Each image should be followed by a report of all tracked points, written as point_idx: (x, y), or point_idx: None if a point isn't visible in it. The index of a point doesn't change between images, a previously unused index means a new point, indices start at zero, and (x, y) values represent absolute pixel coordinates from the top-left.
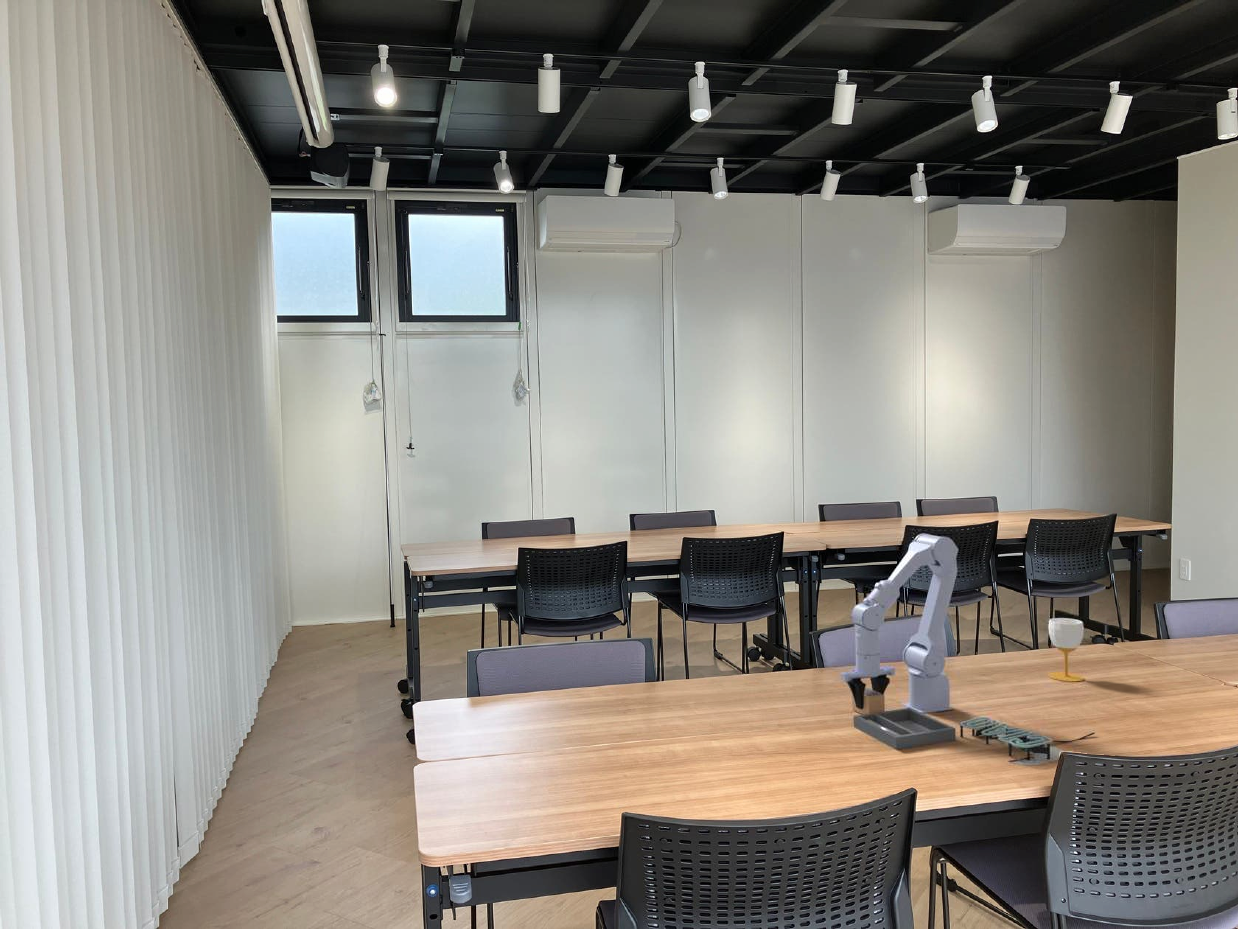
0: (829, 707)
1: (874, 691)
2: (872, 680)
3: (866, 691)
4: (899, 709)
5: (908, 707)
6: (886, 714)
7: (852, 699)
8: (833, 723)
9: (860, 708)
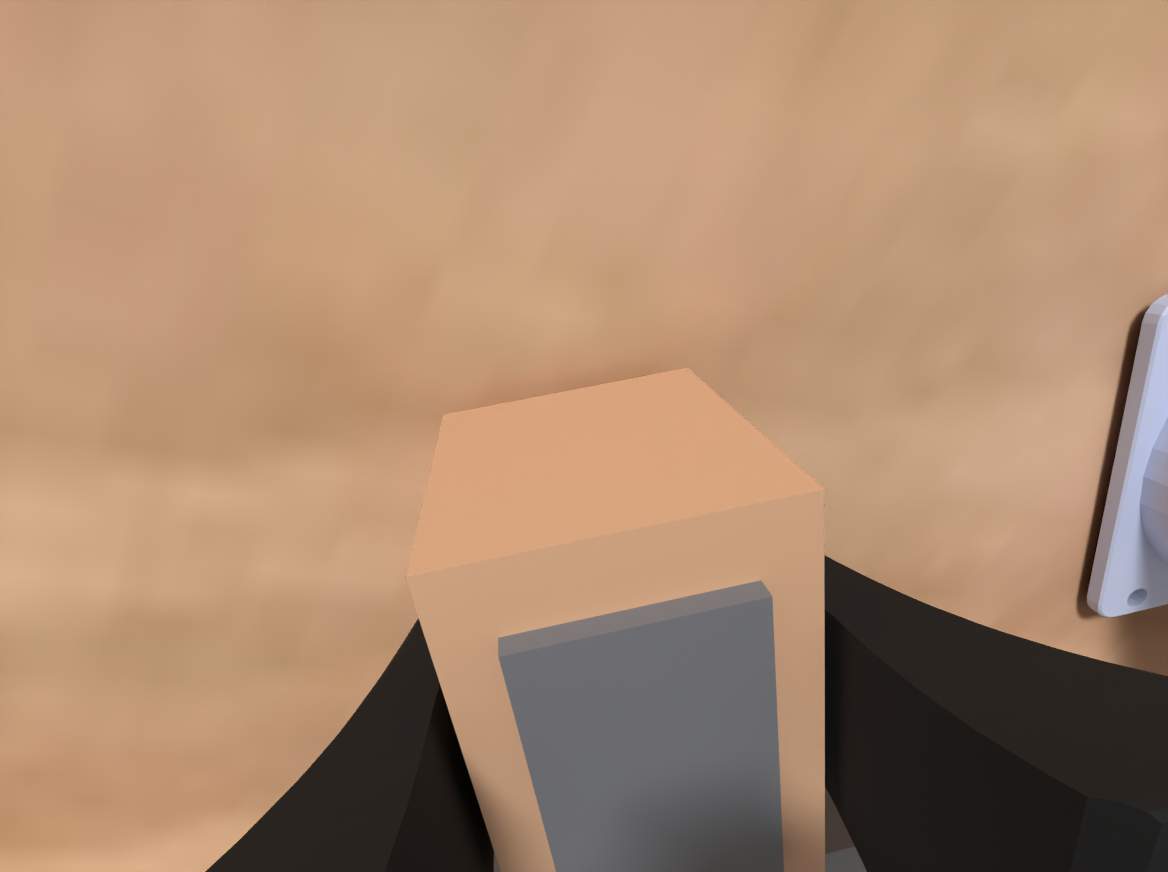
0: (138, 126)
1: (776, 796)
2: (988, 817)
3: (633, 783)
4: (834, 859)
5: (1125, 436)
6: None
7: (428, 482)
8: (76, 734)
9: None
